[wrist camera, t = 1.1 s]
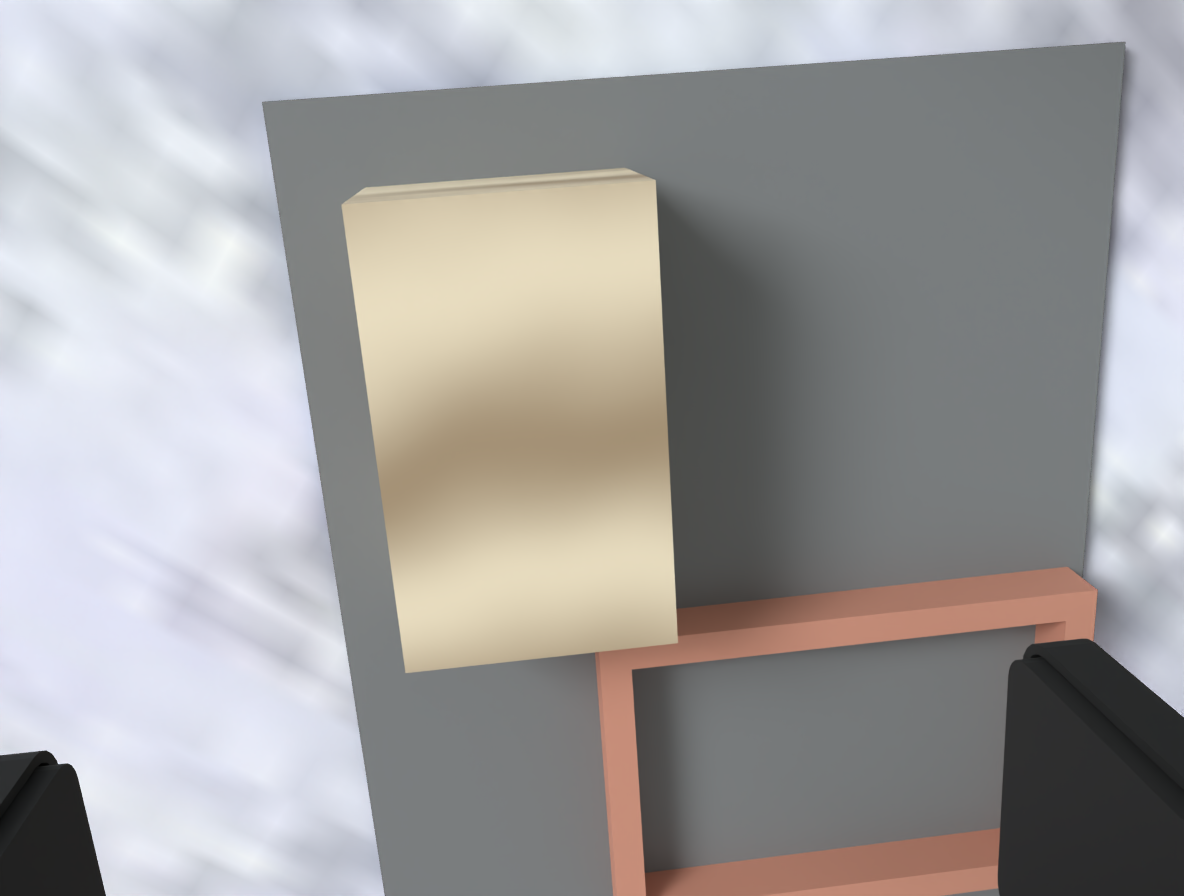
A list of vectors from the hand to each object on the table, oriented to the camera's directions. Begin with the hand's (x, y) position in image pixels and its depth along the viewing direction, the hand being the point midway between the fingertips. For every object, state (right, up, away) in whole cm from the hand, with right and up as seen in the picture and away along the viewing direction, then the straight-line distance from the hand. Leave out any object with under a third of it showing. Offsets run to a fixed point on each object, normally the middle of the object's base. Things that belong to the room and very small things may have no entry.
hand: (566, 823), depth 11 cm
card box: (-2, +5, +16) cm, 17 cm away
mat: (+4, +1, +18) cm, 18 cm away
